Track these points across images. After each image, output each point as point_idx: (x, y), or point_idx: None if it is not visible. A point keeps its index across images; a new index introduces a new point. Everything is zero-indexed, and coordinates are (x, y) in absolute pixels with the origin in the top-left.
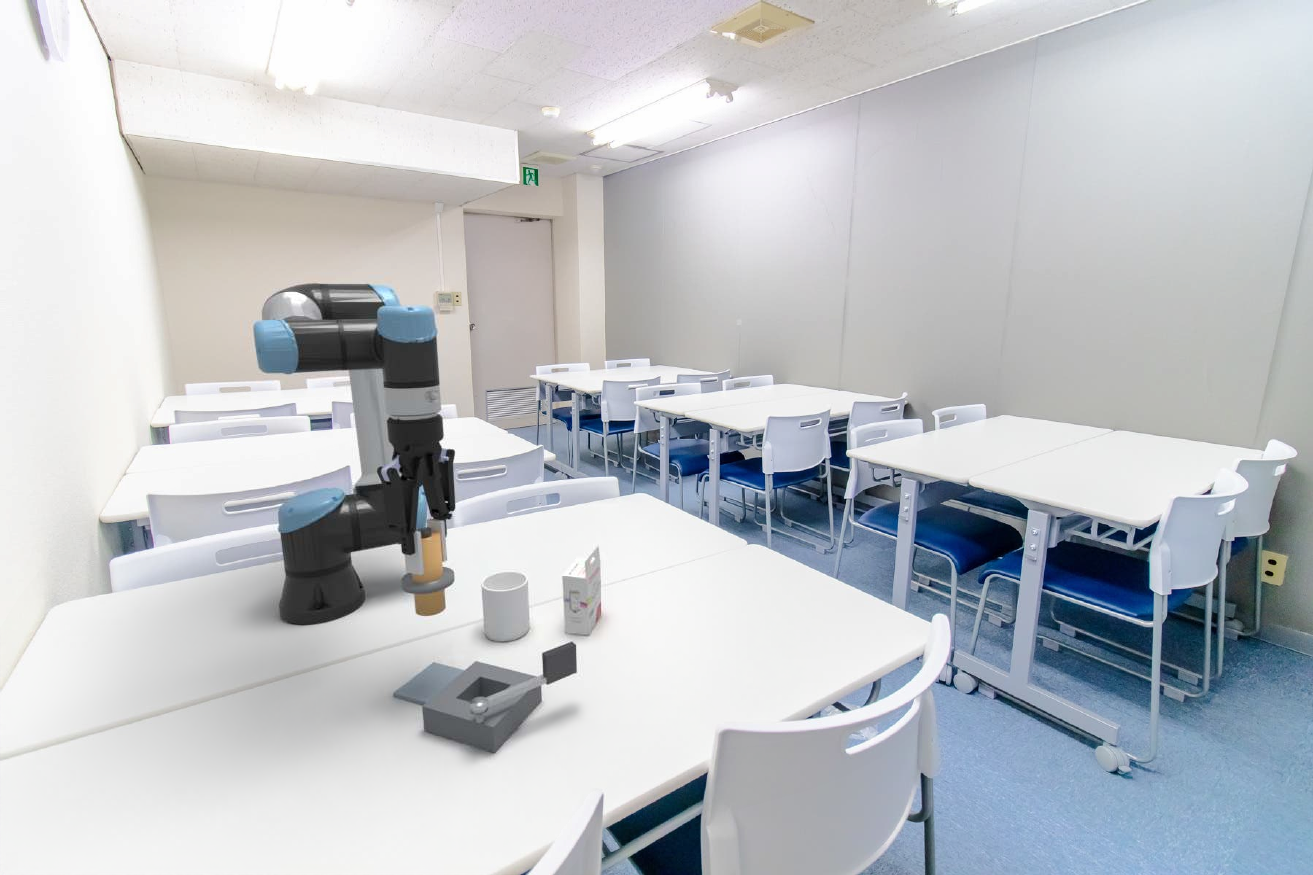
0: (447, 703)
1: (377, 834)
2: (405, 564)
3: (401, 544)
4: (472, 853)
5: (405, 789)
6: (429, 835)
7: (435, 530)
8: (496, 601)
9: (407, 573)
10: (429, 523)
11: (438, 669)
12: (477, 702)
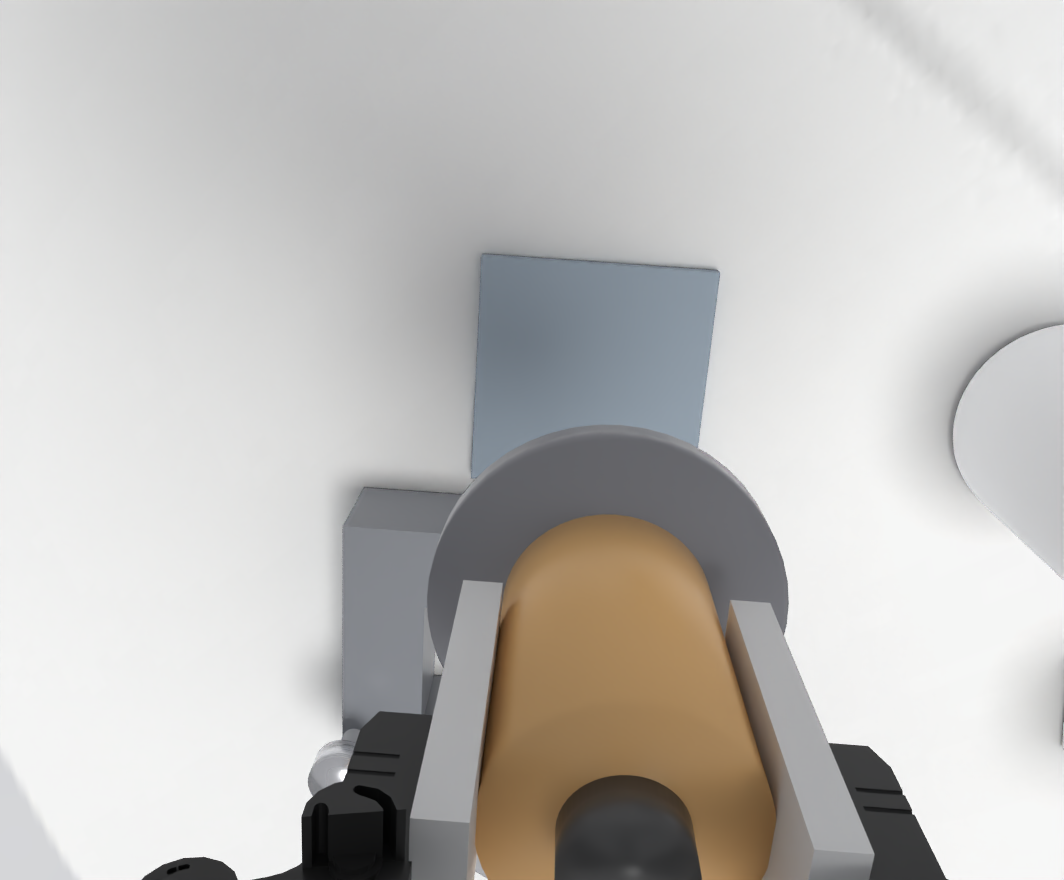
0: (387, 599)
1: (11, 612)
2: (457, 611)
3: (347, 778)
4: (77, 829)
5: (150, 585)
6: (68, 723)
7: (773, 857)
8: (1040, 516)
9: (608, 443)
10: (797, 851)
11: (675, 328)
12: (335, 780)
